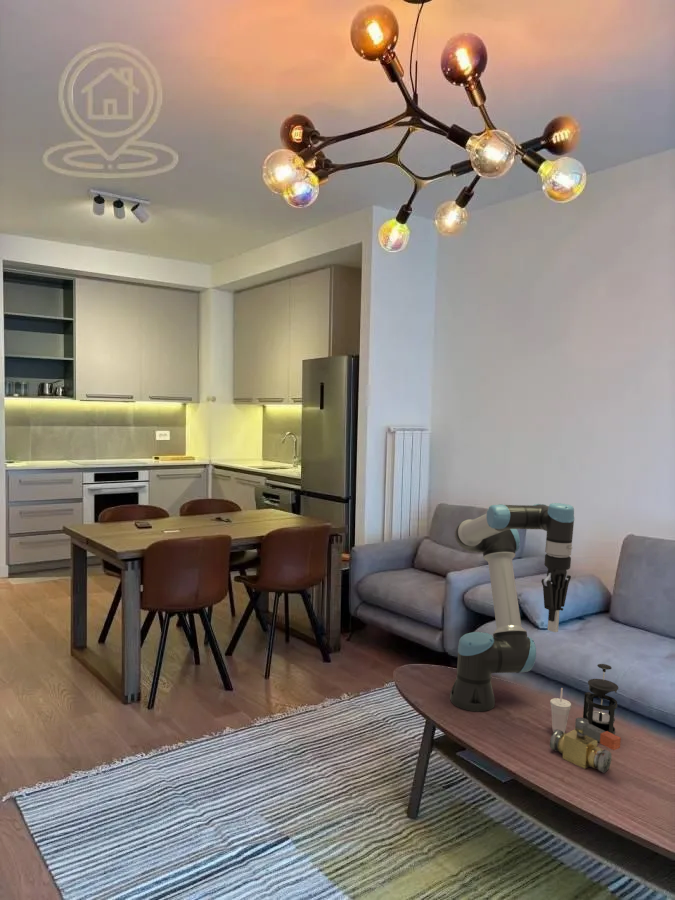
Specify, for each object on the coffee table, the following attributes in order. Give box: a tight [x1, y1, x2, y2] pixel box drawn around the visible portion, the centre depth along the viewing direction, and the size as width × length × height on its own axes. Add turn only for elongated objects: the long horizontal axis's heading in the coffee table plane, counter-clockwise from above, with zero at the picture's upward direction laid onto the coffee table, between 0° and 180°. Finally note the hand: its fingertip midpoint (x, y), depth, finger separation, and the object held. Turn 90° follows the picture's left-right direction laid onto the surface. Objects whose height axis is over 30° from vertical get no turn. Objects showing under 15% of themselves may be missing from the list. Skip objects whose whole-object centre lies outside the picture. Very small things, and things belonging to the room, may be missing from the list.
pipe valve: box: [549, 728, 612, 774], centre depth 196 cm, size 16×6×9 cm, turn 42°
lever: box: [574, 717, 622, 751], centre depth 192 cm, size 13×4×3 cm, turn 33°
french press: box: [582, 663, 619, 744], centre depth 212 cm, size 12×9×23 cm
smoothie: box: [549, 687, 572, 733], centre depth 213 cm, size 6×6×14 cm
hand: (552, 630), depth 206 cm, fingers closed
